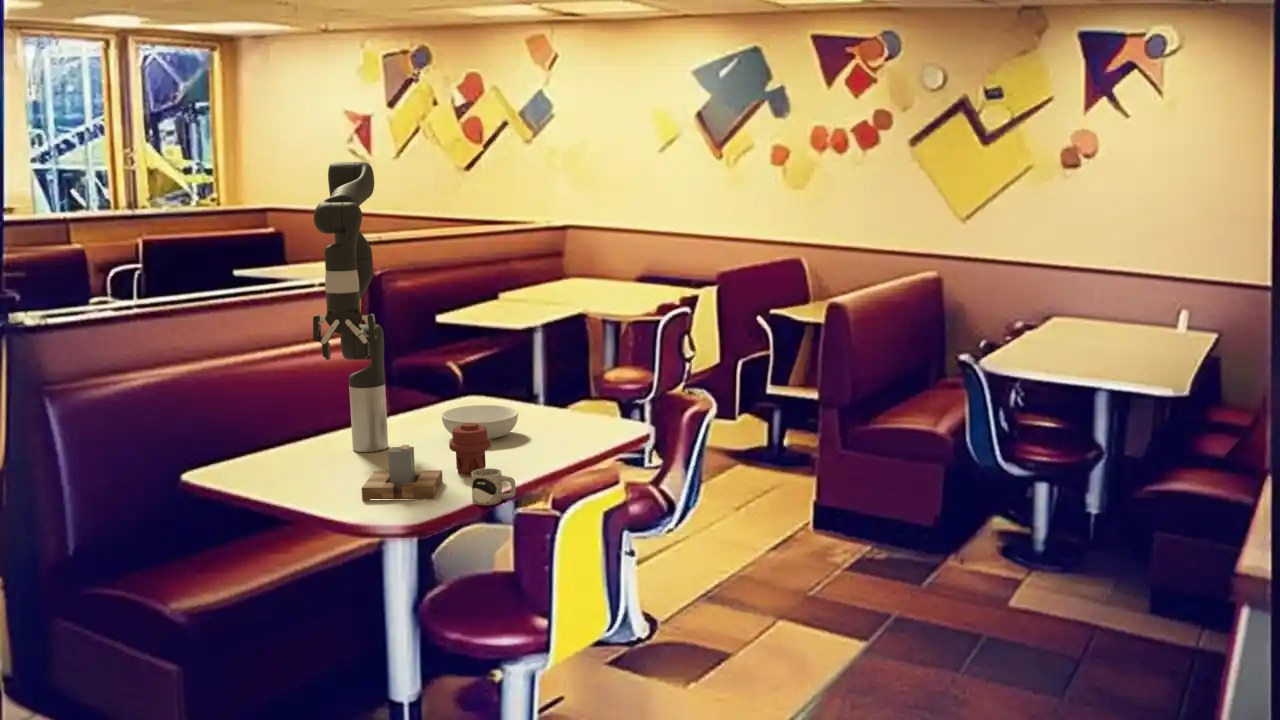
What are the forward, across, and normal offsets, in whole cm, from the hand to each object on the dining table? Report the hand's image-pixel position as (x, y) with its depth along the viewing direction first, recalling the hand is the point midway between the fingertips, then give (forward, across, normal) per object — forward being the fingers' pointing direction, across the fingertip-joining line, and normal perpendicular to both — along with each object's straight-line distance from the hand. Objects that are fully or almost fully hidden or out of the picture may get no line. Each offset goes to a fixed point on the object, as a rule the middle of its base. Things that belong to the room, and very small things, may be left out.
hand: (346, 359), depth 273 cm
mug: (+30, -35, +16) cm, 49 cm away
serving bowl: (+30, -25, -45) cm, 60 cm away
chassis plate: (+30, -13, +7) cm, 34 cm away
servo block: (+30, -13, +7) cm, 33 cm away
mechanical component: (+30, -27, -7) cm, 41 cm away
